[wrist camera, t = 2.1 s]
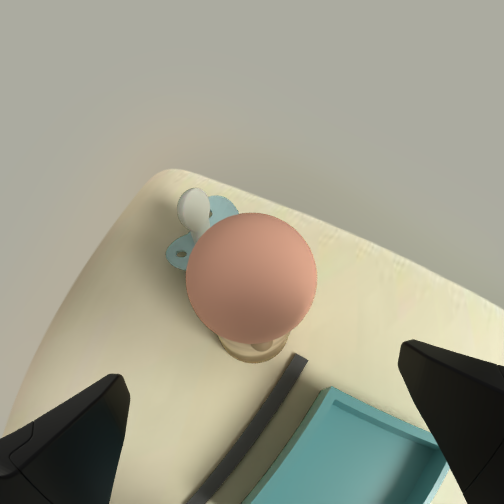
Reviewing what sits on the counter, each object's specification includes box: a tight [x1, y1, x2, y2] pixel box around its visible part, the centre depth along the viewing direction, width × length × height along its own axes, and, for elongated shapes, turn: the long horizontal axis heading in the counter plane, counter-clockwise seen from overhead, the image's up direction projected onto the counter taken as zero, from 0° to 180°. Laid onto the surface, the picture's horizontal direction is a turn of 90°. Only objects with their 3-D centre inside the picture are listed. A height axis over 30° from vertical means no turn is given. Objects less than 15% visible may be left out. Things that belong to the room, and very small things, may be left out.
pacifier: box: [166, 188, 239, 271], centre depth 22 cm, size 7×6×6 cm
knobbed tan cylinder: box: [217, 332, 290, 363], centre depth 18 cm, size 5×5×6 cm
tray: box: [241, 386, 450, 504], centre depth 12 cm, size 11×11×3 cm
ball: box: [186, 213, 317, 344], centre depth 13 cm, size 6×6×6 cm
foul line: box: [186, 354, 308, 504], centre depth 16 cm, size 14×1×1 cm, turn 147°
